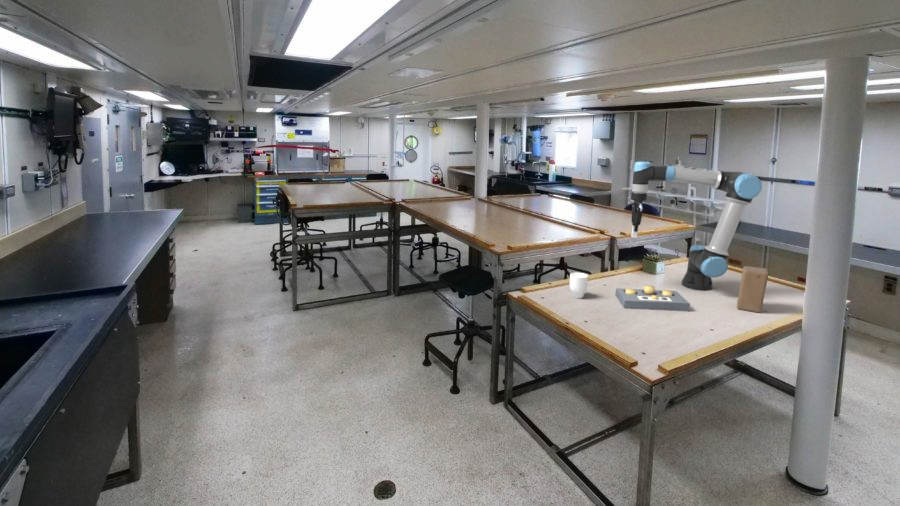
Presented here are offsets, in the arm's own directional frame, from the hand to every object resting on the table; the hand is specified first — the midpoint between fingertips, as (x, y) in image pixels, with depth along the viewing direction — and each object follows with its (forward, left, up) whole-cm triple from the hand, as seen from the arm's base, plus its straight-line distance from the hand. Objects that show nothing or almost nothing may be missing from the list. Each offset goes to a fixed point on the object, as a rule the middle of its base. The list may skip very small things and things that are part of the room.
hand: (634, 237), depth 244 cm
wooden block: (-52, +20, -30) cm, 63 cm away
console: (-6, +19, -29) cm, 35 cm away
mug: (+30, +13, -30) cm, 44 cm away
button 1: (+3, +15, -29) cm, 32 cm away
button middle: (-6, +15, -27) cm, 31 cm away
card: (-6, +24, -25) cm, 35 cm away
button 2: (-15, +15, -29) cm, 36 cm away
